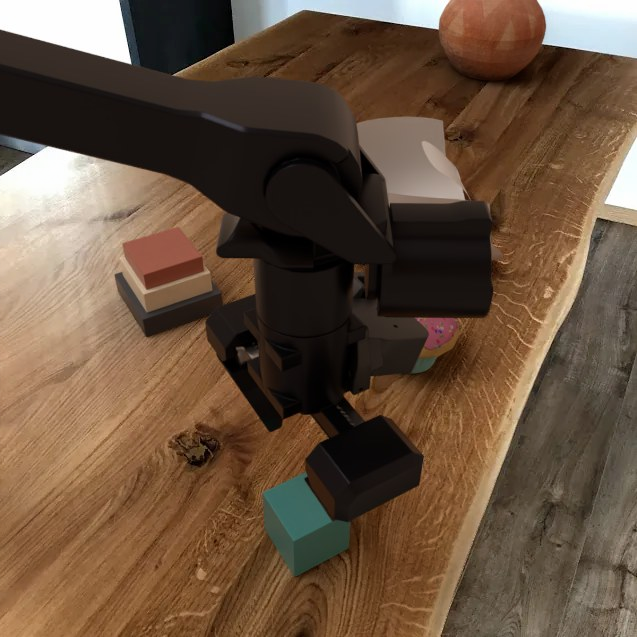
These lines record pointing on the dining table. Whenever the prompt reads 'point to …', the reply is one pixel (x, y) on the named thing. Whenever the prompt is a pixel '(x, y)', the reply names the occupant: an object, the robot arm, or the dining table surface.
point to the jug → (491, 36)
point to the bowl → (413, 161)
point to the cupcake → (436, 340)
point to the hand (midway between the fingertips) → (304, 470)
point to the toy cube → (302, 526)
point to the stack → (165, 281)
